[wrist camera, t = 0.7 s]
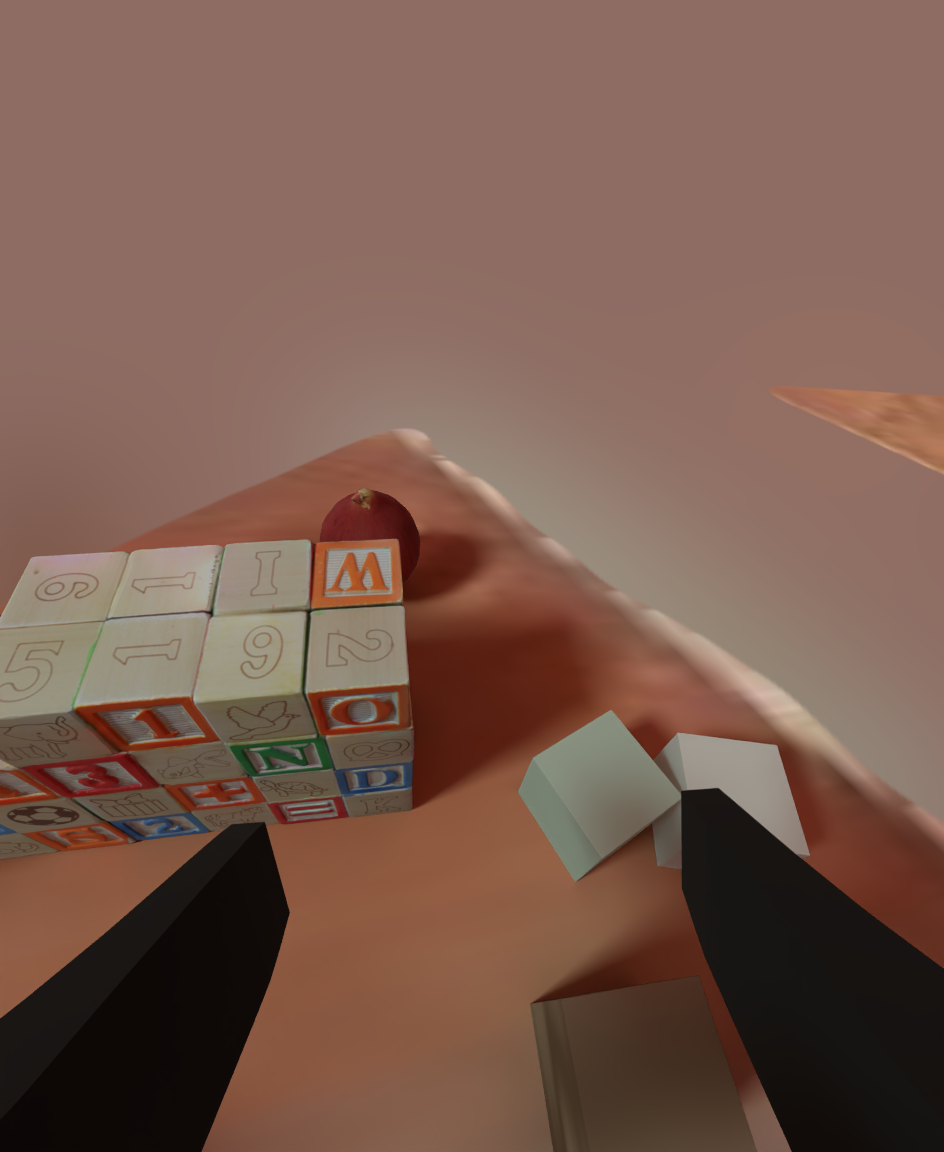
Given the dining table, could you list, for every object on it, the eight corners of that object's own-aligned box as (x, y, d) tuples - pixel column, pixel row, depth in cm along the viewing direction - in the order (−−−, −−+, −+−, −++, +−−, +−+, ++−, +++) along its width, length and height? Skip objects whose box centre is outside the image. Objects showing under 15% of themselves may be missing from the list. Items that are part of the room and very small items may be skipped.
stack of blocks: (-103, 876, 21) (-514, 766, 12) (-30, 732, 25) (-295, 565, 16) (416, 810, 24) (412, 682, 15) (408, 691, 28) (401, 532, 19)
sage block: (646, 827, 25) (683, 797, 21) (575, 882, 23) (602, 859, 20) (587, 748, 27) (611, 709, 24) (517, 792, 25) (532, 757, 22)
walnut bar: (682, 1149, 18) (770, 1193, 13) (557, 1177, 17) (605, 1233, 13) (638, 984, 21) (698, 975, 16) (530, 1003, 20) (561, 999, 16)
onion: (336, 550, 35) (317, 451, 29) (421, 552, 35) (421, 456, 29) (322, 620, 31) (297, 523, 25) (418, 621, 31) (417, 527, 25)
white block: (754, 878, 24) (810, 855, 20) (656, 866, 24) (696, 840, 20) (731, 780, 27) (776, 745, 23) (644, 769, 27) (677, 732, 23)
